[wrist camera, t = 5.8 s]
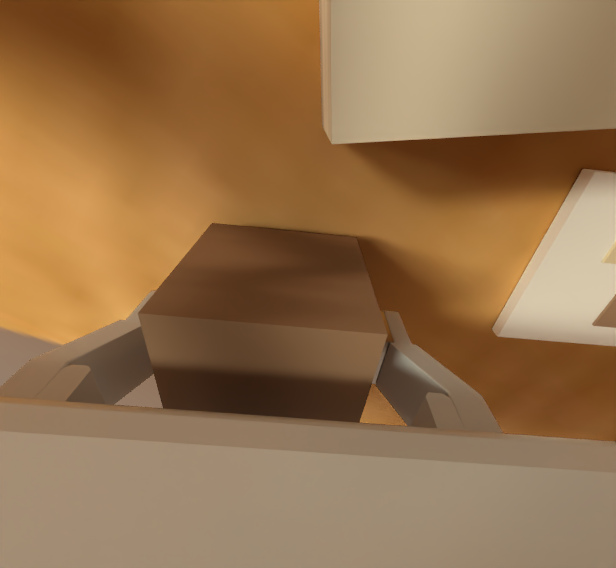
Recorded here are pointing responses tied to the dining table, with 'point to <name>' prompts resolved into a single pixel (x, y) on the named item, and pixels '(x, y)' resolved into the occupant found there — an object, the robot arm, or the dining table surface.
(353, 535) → the robot arm
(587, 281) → the card
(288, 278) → the walnut cube
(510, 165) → the dining table surface
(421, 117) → the birch base block
